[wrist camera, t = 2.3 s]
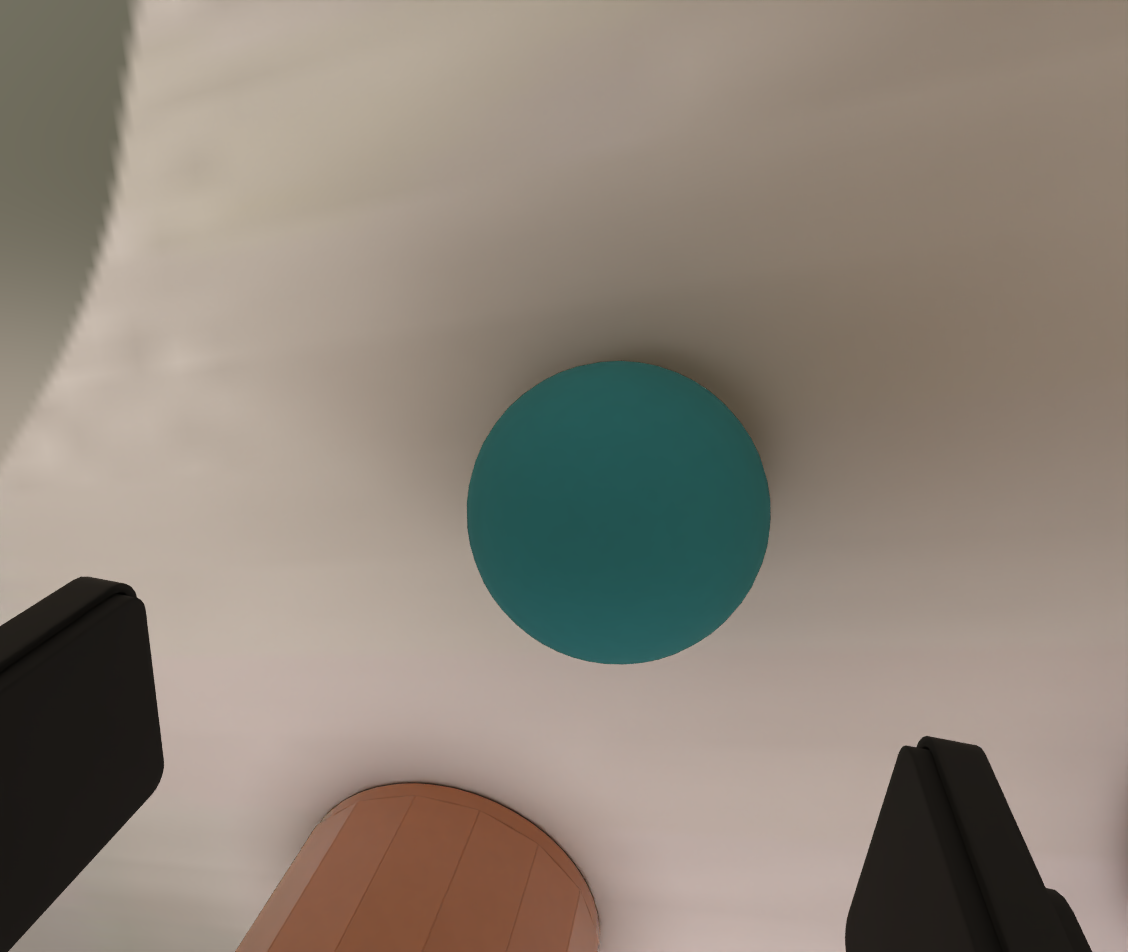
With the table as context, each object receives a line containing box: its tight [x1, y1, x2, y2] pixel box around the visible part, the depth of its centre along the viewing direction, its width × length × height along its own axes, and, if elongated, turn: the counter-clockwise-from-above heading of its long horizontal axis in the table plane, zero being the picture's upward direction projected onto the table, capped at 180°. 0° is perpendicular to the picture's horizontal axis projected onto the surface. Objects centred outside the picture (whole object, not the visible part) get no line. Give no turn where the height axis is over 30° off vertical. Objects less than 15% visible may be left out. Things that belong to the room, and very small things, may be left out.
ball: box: [467, 361, 771, 664], centre depth 16 cm, size 6×6×6 cm
